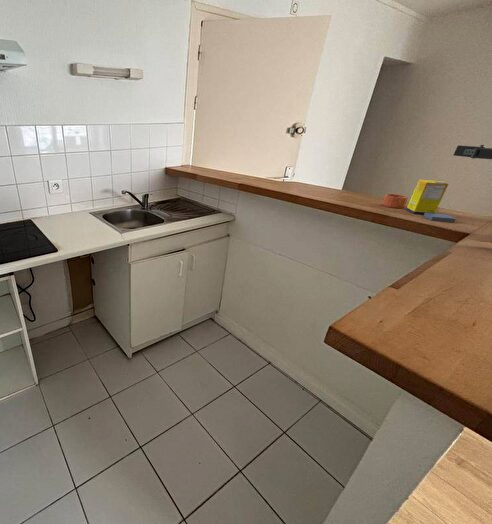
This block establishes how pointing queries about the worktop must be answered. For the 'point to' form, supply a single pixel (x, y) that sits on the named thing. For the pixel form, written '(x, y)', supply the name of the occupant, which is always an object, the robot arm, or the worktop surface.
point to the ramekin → (394, 200)
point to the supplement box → (427, 196)
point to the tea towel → (439, 217)
